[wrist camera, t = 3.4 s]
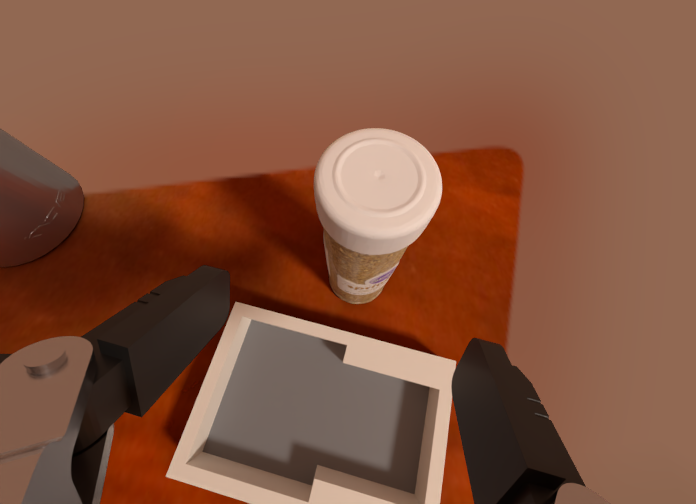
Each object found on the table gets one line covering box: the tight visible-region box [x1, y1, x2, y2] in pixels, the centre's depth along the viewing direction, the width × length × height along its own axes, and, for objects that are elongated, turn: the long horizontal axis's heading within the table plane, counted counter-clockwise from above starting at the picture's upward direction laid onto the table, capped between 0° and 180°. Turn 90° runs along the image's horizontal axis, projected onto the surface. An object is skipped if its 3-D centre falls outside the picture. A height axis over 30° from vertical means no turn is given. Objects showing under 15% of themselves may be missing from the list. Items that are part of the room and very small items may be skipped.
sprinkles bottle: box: [314, 128, 442, 304], centre depth 16 cm, size 5×5×14 cm
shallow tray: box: [166, 302, 456, 504], centre depth 18 cm, size 15×10×2 cm, turn 76°
